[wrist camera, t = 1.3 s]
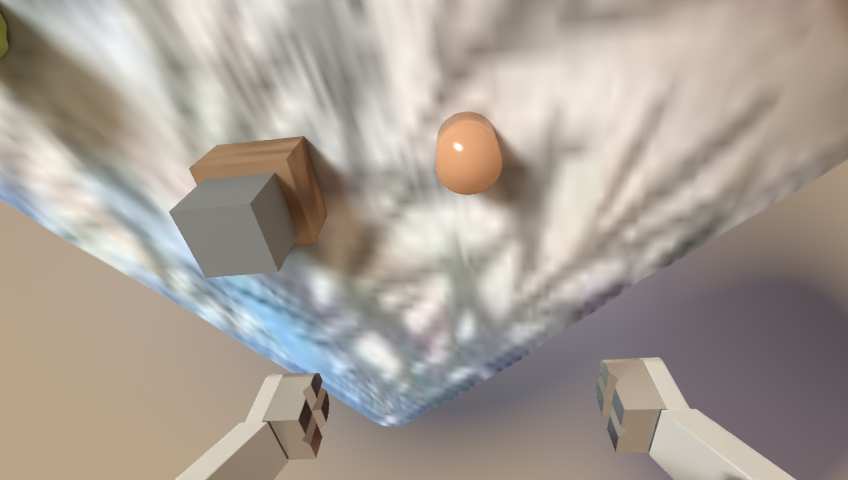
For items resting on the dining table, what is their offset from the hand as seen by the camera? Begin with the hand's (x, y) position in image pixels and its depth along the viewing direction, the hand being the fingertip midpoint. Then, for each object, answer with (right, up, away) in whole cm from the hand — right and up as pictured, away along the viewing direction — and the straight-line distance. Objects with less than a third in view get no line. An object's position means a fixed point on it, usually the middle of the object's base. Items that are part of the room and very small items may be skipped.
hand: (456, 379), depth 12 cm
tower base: (-15, +10, +26) cm, 32 cm away
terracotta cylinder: (+3, +13, +23) cm, 26 cm away
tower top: (-15, +7, +22) cm, 28 cm away
